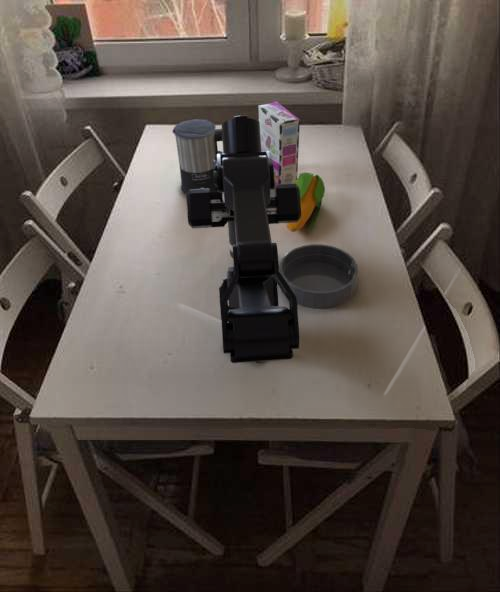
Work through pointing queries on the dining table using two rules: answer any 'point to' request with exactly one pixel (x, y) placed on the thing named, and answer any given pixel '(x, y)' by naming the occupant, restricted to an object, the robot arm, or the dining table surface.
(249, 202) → the robot arm
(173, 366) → the dining table surface
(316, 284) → the pan
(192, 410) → the dining table surface
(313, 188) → the corn
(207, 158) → the milk frother
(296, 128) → the candy bar box
